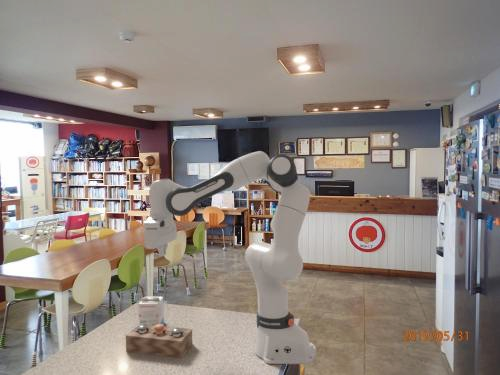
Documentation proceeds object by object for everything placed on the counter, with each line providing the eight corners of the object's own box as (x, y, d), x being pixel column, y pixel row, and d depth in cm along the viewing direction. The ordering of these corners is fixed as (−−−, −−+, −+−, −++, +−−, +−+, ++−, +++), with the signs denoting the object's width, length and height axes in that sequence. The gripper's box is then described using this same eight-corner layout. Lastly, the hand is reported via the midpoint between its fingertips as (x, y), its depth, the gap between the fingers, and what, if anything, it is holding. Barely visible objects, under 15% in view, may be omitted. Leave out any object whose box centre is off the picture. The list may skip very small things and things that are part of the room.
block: (192, 344, 139) (192, 329, 138) (181, 357, 129) (181, 341, 128) (140, 338, 144) (140, 323, 143) (126, 351, 134) (125, 335, 134)
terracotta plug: (166, 340, 138) (165, 324, 137) (161, 345, 134) (161, 328, 134) (157, 339, 138) (157, 323, 138) (153, 344, 135) (152, 327, 134)
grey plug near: (183, 344, 136) (183, 327, 136) (179, 349, 132) (179, 332, 132) (174, 343, 137) (174, 327, 136) (170, 348, 133) (169, 331, 133)
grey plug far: (149, 340, 139) (149, 324, 139) (144, 345, 136) (144, 328, 135) (141, 339, 140) (140, 323, 140) (136, 344, 137) (135, 327, 136)
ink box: (164, 322, 159) (163, 292, 158) (159, 331, 150) (158, 299, 150) (145, 322, 159) (144, 292, 158) (138, 331, 151) (137, 299, 150)
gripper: (166, 216, 153) (167, 249, 153) (140, 224, 133) (141, 261, 134) (180, 216, 151) (181, 249, 152) (156, 224, 131) (157, 262, 132)
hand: (162, 255), depth 143 cm, fingers closed
